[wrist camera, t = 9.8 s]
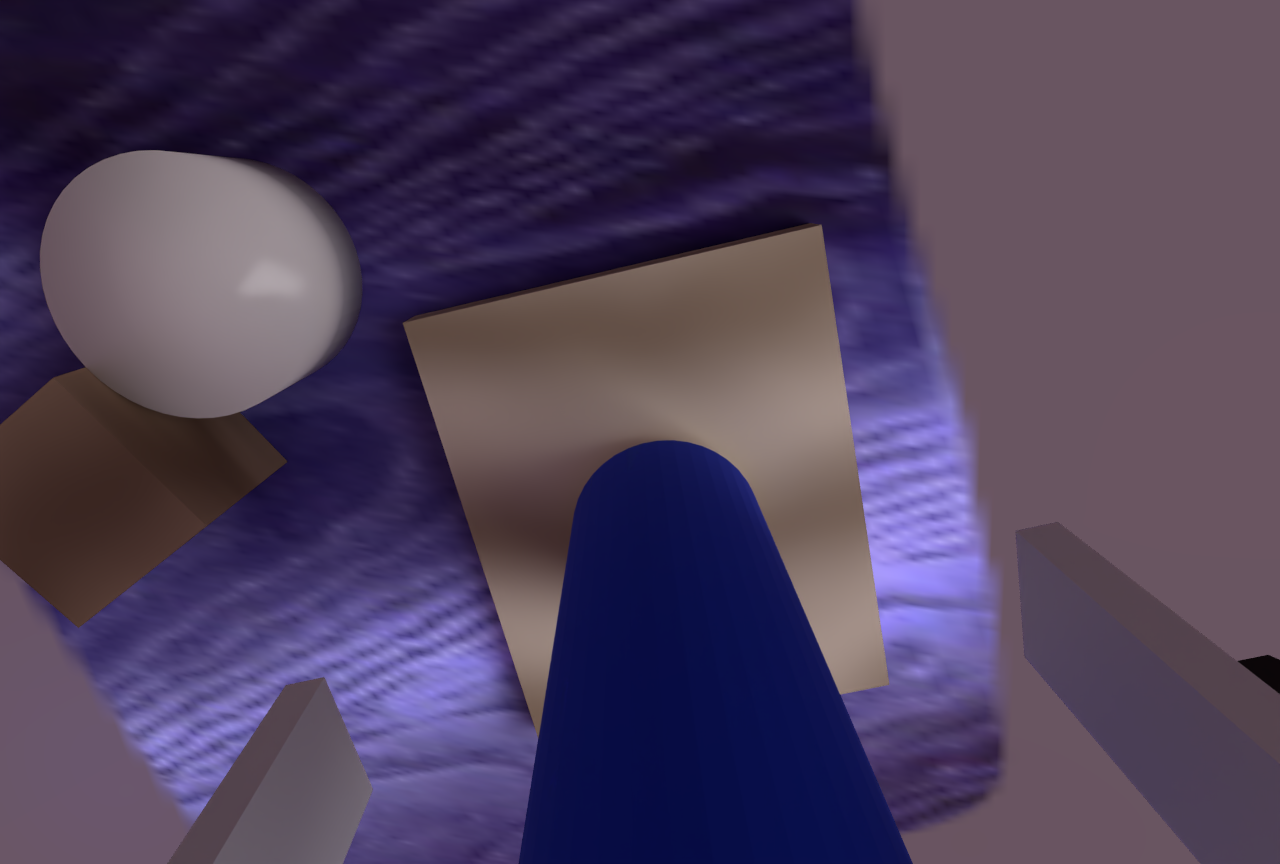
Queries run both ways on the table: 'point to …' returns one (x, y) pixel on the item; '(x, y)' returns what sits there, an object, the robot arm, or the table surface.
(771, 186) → the table surface
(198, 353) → the pale pink rounded block
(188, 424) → the walnut block
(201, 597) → the table surface
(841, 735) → the beverage can
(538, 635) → the board
